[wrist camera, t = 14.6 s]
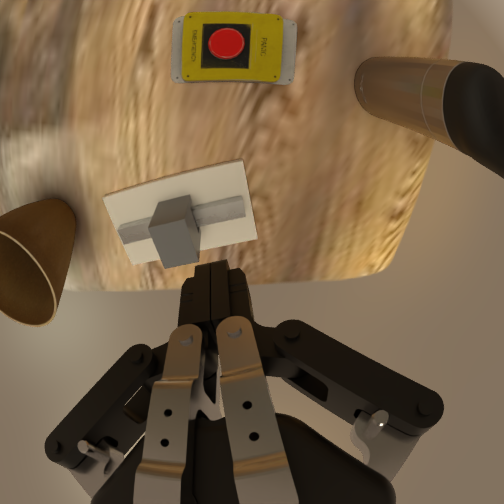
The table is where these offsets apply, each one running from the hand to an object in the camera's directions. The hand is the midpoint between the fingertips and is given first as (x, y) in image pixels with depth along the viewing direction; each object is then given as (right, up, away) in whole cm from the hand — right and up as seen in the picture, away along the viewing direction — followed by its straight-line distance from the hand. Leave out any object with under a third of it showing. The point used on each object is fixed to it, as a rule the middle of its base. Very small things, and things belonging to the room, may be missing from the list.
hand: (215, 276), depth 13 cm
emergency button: (0, +26, +14) cm, 29 cm away
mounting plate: (-8, +6, +25) cm, 27 cm away
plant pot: (-29, +7, +22) cm, 37 cm away
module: (-8, +6, +24) cm, 26 cm away
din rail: (-8, +6, +25) cm, 27 cm away
